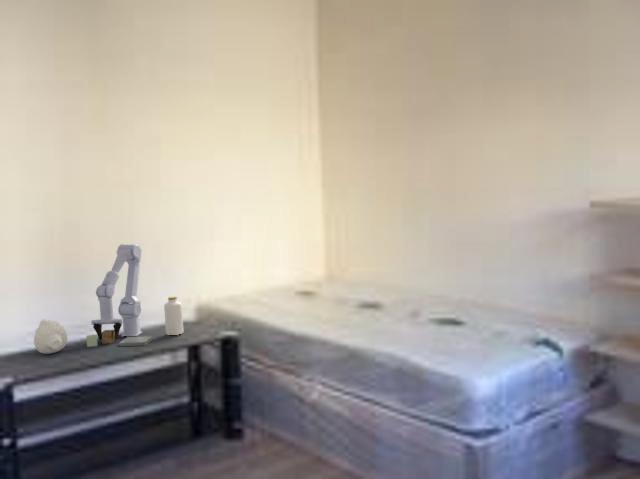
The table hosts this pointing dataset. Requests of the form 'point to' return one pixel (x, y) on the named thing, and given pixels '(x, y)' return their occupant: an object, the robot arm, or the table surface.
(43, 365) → the table surface
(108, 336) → the walnut block
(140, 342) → the grey square tile
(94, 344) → the pale green block
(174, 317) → the potion bottle
